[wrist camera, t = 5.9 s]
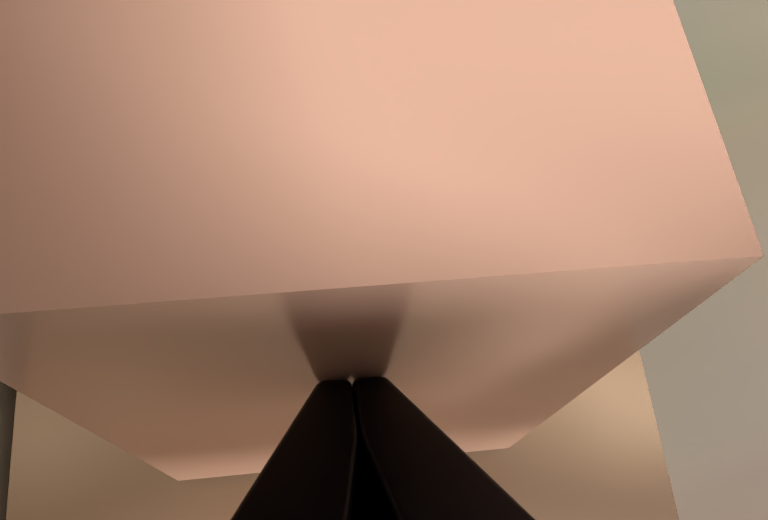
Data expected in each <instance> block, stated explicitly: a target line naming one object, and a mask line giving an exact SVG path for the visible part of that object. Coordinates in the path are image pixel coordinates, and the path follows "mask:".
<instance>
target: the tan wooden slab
mask: <svg viewBox="0 0 768 520" xmlns="http://www.w3.org/2000/svg"><path fill="white" fill-rule="evenodd" d="M465 453H466V454H467V455H468V456H469V457H470V458H471V459H473V460H474V461H475V462H476V463H477V464H478V465H479V466H480V467H481V468H482V469H483V470H484V471H485V472H486V473H487V474H488V475H489V476H490V477H491V478H492V479H494V480H495V481H496V482H497V483H498V484H499V485H500V486H501V487H502V488H503V489H504V490H505V491H506V492H507V493H508V494H509V495H510V496H511V497H512V498H513V499H515V500H516V501H517V502H518V503H519V504H520V505H521V506H522V507H523V508H524V509H525V510H526V511H527V512H528V513H529V514H530V515H531V516H532V517H533V518H534V519H536V520H679V518H678V513H677V509H676V505H675V501H674V496H673V492H672V488H671V484H670V479H669V475H668V471H667V467H666V462H665V458H664V454H663V450H662V445H661V441H660V437H659V432H658V428H657V424H656V420H655V415H654V411H653V407H652V403H651V398H650V394H649V390H648V386H647V381H646V377H645V373H644V368H643V364H642V360H641V356H640V351H639V350H638V351H637V352H636V353H634V354H633V355H632V356H630V357H629V358H628V359H626V360H625V361H624V362H622V363H621V364H620V365H618V366H617V367H616V368H614V369H613V370H612V371H610V372H609V373H608V374H606V375H605V376H604V377H602V378H601V379H600V380H598V381H597V382H596V383H594V384H593V385H592V386H590V387H589V388H588V389H586V390H585V391H584V392H582V393H581V394H580V395H578V396H577V397H576V398H574V399H573V400H572V401H570V402H569V403H568V404H566V405H565V406H564V407H563V408H561V409H560V410H559V411H557V412H556V413H555V414H553V415H552V416H551V417H549V418H548V419H547V420H545V421H544V422H543V423H541V424H540V425H539V426H537V427H536V428H535V429H533V430H532V431H531V432H529V433H528V434H527V435H525V436H524V437H523V438H521V439H520V440H519V441H517V442H516V443H515V444H513V445H512V446H511V447H509V448H503V449H493V450H483V451H473V452H465ZM259 474H260V473H252V474H242V475H232V476H221V477H211V478H201V479H191V480H181V481H178V480H176V479H174V478H172V477H171V476H169V475H167V474H165V473H163V472H162V471H160V470H158V469H156V468H155V467H153V466H151V465H149V464H147V463H146V462H144V461H142V460H140V459H138V458H137V457H135V456H133V455H131V454H129V453H128V452H126V451H124V450H122V449H121V448H119V447H117V446H115V445H113V444H112V443H110V442H108V441H106V440H104V439H103V438H101V437H99V436H97V435H95V434H94V433H92V432H90V431H88V430H87V429H85V428H83V427H81V426H79V425H78V424H76V423H74V422H72V421H70V420H69V419H67V418H65V417H63V416H62V415H60V414H58V413H56V412H54V411H53V410H51V409H49V408H47V407H45V406H44V405H42V404H40V403H38V402H36V401H35V400H33V399H31V398H29V397H28V396H26V395H24V394H22V393H20V392H19V391H17V394H16V405H15V417H14V429H13V441H12V452H11V464H10V476H9V487H8V499H7V511H6V520H230V519H231V518H232V516H233V515H234V513H235V512H236V510H237V508H238V507H239V505H240V504H241V502H242V501H243V499H244V497H245V496H246V494H247V493H248V491H249V490H250V488H251V486H252V485H253V483H254V482H255V480H256V479H257V477H258V475H259Z"/></svg>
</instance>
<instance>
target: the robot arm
mask: <svg viewBox="0 0 768 520" xmlns="http://www.w3.org/2000/svg"><path fill="white" fill-rule="evenodd" d="M230 520H536V519H534V518H533V517H532V516H531V515H530V514H529V513H528V512H527V511H526V510H525V509H524V508H523V507H522V506H521V505H520V504H519V503H518V502H517V501H516V500H515V499H513V498H512V497H511V496H510V495H509V494H508V493H507V492H506V491H505V490H504V489H503V488H502V487H501V486H500V485H499V484H498V483H497V482H496V481H495V480H494V479H492V478H491V477H490V476H489V475H488V474H487V473H486V472H485V471H484V470H483V469H482V468H481V467H480V466H479V465H478V464H477V463H476V462H475V461H474V460H473V459H471V458H470V457H469V456H468V455H467V454H466V453H465V452H464V451H463V450H462V449H461V448H460V447H459V446H458V445H457V444H456V443H455V442H454V441H453V440H452V439H450V438H449V437H448V436H447V435H446V434H445V433H444V432H443V431H442V430H441V429H440V428H439V427H438V426H437V425H436V424H435V423H434V422H433V421H432V420H431V419H429V418H428V417H427V416H426V415H425V414H424V413H423V412H422V411H421V410H420V409H419V408H418V407H417V406H416V405H415V404H414V403H413V402H412V401H411V400H410V399H408V398H407V397H406V396H405V395H404V394H403V393H402V392H401V391H400V390H399V389H398V388H397V387H396V386H395V385H394V384H393V383H392V382H391V381H390V380H389V379H387V378H385V377H371V378H361V379H356V380H354V382H353V383H352V384H351V383H350V381H348V380H338V381H327V382H319V383H318V384H317V385H316V386H315V387H314V389H313V391H312V392H311V394H310V395H309V397H308V398H307V400H306V402H305V403H304V405H303V406H302V408H301V409H300V411H299V413H298V414H297V416H296V417H295V419H294V420H293V422H292V424H291V425H290V427H289V428H288V430H287V431H286V433H285V435H284V436H283V438H282V439H281V441H280V442H279V444H278V446H277V447H276V449H275V450H274V452H273V453H272V455H271V457H270V458H269V460H268V461H267V463H266V464H265V466H264V468H263V469H262V471H261V472H260V474H259V475H258V477H257V479H256V480H255V482H254V483H253V485H252V486H251V488H250V490H249V491H248V493H247V494H246V496H245V497H244V499H243V501H242V502H241V504H240V505H239V507H238V508H237V510H236V512H235V513H234V515H233V516H232V518H231V519H230Z"/></svg>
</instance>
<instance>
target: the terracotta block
mask: <svg viewBox="0 0 768 520" xmlns="http://www.w3.org/2000/svg"><path fill="white" fill-rule="evenodd" d="M763 256H764V255H763V252H762V249H761V246H760V243H759V241H758V238H757V235H756V232H755V229H754V227H753V224H752V221H751V218H750V215H749V213H748V210H747V207H746V204H745V201H744V199H743V196H742V193H741V190H740V187H739V185H738V182H737V179H736V176H735V173H734V171H733V168H732V165H731V162H730V159H729V157H728V154H727V151H726V148H725V145H724V142H723V140H722V137H721V134H720V131H719V128H718V126H717V123H716V120H715V117H714V114H713V112H712V109H711V106H710V103H709V100H708V98H707V95H706V92H705V89H704V86H703V84H702V81H701V78H700V75H699V72H698V70H697V67H696V64H695V61H694V58H693V56H692V53H691V50H690V47H689V44H688V41H687V39H686V36H685V33H684V30H683V27H682V25H681V22H680V19H679V16H678V13H677V11H676V8H675V5H674V2H673V0H0V381H1V382H2V383H4V384H6V385H8V386H10V387H11V388H13V389H15V390H17V391H19V392H20V393H22V394H24V395H26V396H28V397H29V398H31V399H33V400H35V401H36V402H38V403H40V404H42V405H44V406H45V407H47V408H49V409H51V410H53V411H54V412H56V413H58V414H60V415H62V416H63V417H65V418H67V419H69V420H70V421H72V422H74V423H76V424H78V425H79V426H81V427H83V428H85V429H87V430H88V431H90V432H92V433H94V434H95V435H97V436H99V437H101V438H103V439H104V440H106V441H108V442H110V443H112V444H113V445H115V446H117V447H119V448H121V449H122V450H124V451H126V452H128V453H129V454H131V455H133V456H135V457H137V458H138V459H140V460H142V461H144V462H146V463H147V464H149V465H151V466H153V467H155V468H156V469H158V470H160V471H162V472H163V473H165V474H167V475H169V476H171V477H172V478H174V479H176V480H178V481H181V480H191V479H201V478H211V477H221V476H232V475H242V474H252V473H260V472H261V471H262V469H263V468H264V466H265V464H266V463H267V461H268V460H269V458H270V457H271V455H272V453H273V452H274V450H275V449H276V447H277V446H278V444H279V442H280V441H281V439H282V438H283V436H284V435H285V433H286V431H287V430H288V428H289V427H290V425H291V424H292V422H293V420H294V419H295V417H296V416H297V414H298V413H299V411H300V409H301V408H302V406H303V405H304V403H305V402H306V400H307V398H308V397H309V395H310V394H311V392H312V391H313V389H314V387H315V386H316V385H317V384H318V383H319V382H327V381H338V380H348V381H350V383H351V384H352V383H353V382H354V380H356V379H361V378H371V377H385V378H387V379H389V380H390V381H391V382H392V383H393V384H394V385H395V386H396V387H397V388H398V389H399V390H400V391H401V392H402V393H403V394H404V395H405V396H406V397H407V398H408V399H410V400H411V401H412V402H413V403H414V404H415V405H416V406H417V407H418V408H419V409H420V410H421V411H422V412H423V413H424V414H425V415H426V416H427V417H428V418H429V419H431V420H432V421H433V422H434V423H435V424H436V425H437V426H438V427H439V428H440V429H441V430H442V431H443V432H444V433H445V434H446V435H447V436H448V437H449V438H450V439H452V440H453V441H454V442H455V443H456V444H457V445H458V446H459V447H460V448H461V449H462V450H463V451H464V452H473V451H483V450H493V449H503V448H509V447H511V446H512V445H513V444H515V443H516V442H517V441H519V440H520V439H521V438H523V437H524V436H525V435H527V434H528V433H529V432H531V431H532V430H533V429H535V428H536V427H537V426H539V425H540V424H541V423H543V422H544V421H545V420H547V419H548V418H549V417H551V416H552V415H553V414H555V413H556V412H557V411H559V410H560V409H561V408H563V407H564V406H565V405H566V404H568V403H569V402H570V401H572V400H573V399H574V398H576V397H577V396H578V395H580V394H581V393H582V392H584V391H585V390H586V389H588V388H589V387H590V386H592V385H593V384H594V383H596V382H597V381H598V380H600V379H601V378H602V377H604V376H605V375H606V374H608V373H609V372H610V371H612V370H613V369H614V368H616V367H617V366H618V365H620V364H621V363H622V362H624V361H625V360H626V359H628V358H629V357H630V356H632V355H633V354H634V353H636V352H637V351H638V350H639V349H641V348H642V347H643V346H645V345H646V344H647V343H649V342H650V341H651V340H653V339H654V338H655V337H657V336H658V335H659V334H661V333H662V332H663V331H665V330H666V329H667V328H669V327H670V326H671V325H673V324H674V323H675V322H677V321H678V320H679V319H681V318H682V317H683V316H685V315H686V314H687V313H689V312H690V311H691V310H693V309H694V308H695V307H697V306H698V305H699V304H701V303H702V302H703V301H705V300H706V299H707V298H708V297H710V296H711V295H712V294H714V293H715V292H716V291H718V290H719V289H720V288H722V287H723V286H724V285H726V284H727V283H728V282H730V281H731V280H732V279H734V278H735V277H736V276H738V275H739V274H740V273H742V272H743V271H744V270H746V269H747V268H748V267H750V266H751V265H752V264H754V263H755V262H756V261H758V260H759V259H760V258H762V257H763Z"/></svg>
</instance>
